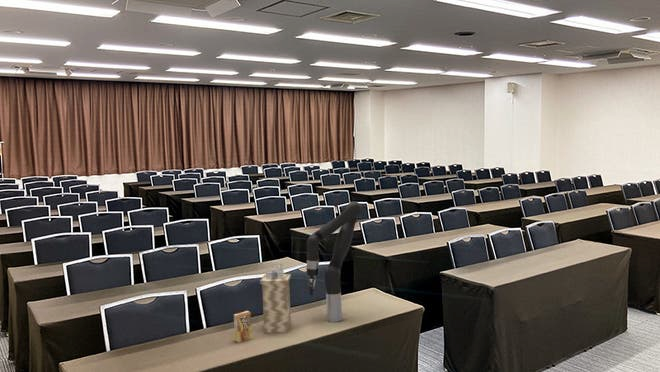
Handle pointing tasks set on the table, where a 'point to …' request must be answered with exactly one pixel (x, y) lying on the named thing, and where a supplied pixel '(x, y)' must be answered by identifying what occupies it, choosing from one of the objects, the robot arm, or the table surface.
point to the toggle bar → (276, 272)
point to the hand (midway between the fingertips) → (311, 293)
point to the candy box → (242, 326)
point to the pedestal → (276, 304)
